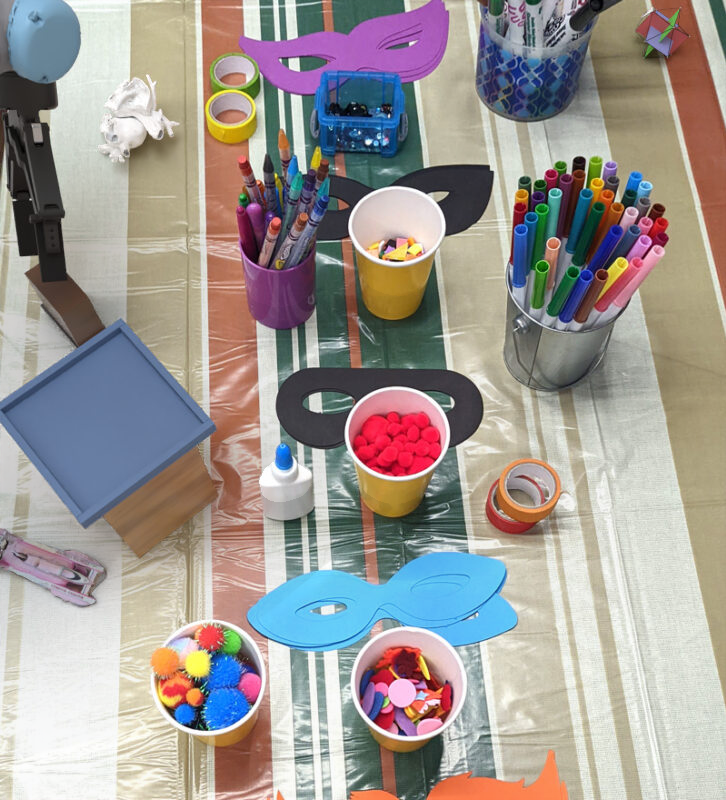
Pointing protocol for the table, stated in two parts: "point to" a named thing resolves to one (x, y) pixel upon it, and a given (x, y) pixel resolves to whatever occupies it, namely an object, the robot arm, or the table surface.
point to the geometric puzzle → (661, 32)
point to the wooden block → (163, 503)
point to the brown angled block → (67, 307)
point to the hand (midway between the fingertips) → (42, 267)
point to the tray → (103, 422)
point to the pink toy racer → (52, 568)
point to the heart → (132, 118)
